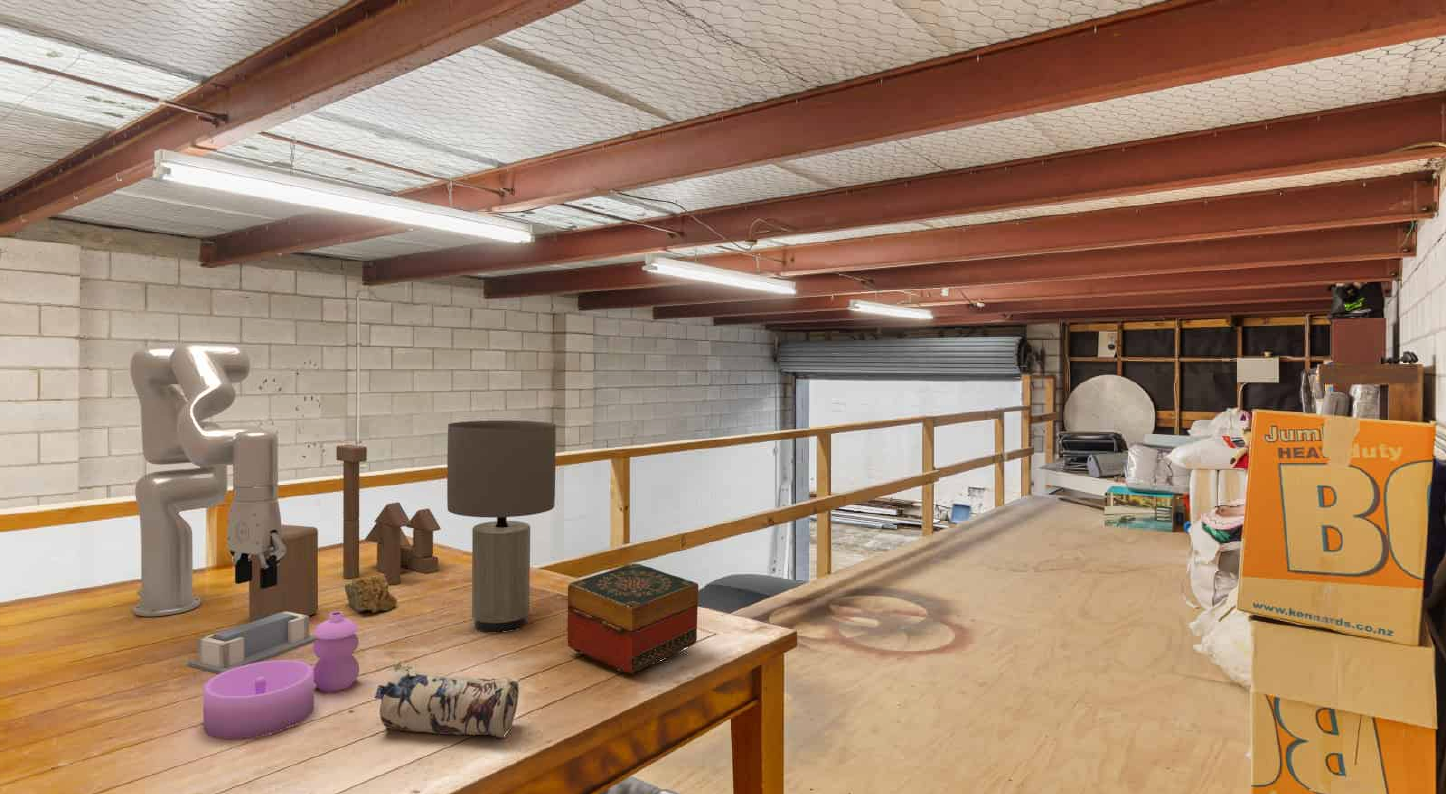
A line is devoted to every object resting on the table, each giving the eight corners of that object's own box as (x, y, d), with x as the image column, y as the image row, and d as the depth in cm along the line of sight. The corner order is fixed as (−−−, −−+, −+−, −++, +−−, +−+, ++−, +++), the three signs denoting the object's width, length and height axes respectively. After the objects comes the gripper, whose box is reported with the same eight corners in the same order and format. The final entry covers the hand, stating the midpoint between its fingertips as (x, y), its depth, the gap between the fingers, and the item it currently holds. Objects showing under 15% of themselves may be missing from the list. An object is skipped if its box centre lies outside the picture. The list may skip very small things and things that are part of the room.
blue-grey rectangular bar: (226, 663, 144) (225, 636, 144) (213, 659, 146) (213, 633, 145) (293, 639, 157) (293, 615, 157) (281, 636, 158) (281, 612, 158)
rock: (353, 628, 180) (337, 588, 181) (389, 612, 186) (374, 574, 188) (368, 618, 172) (351, 577, 173) (405, 602, 178) (389, 562, 179)
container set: (241, 748, 115) (241, 661, 114) (182, 725, 121) (182, 642, 121) (383, 687, 137) (383, 614, 136) (326, 670, 144) (326, 600, 143)
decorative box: (641, 634, 169) (635, 559, 169) (710, 653, 153) (704, 570, 153) (561, 662, 155) (555, 581, 154) (629, 687, 139) (621, 596, 139)
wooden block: (286, 627, 165) (286, 535, 165) (247, 623, 167) (246, 532, 167) (319, 613, 175) (319, 526, 174) (281, 609, 177) (281, 523, 176)
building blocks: (388, 591, 193) (388, 452, 191) (330, 575, 206) (330, 444, 204) (451, 574, 209) (452, 446, 208) (394, 560, 222) (394, 439, 221)
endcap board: (187, 665, 144) (187, 639, 144) (284, 632, 163) (284, 608, 162) (223, 674, 140) (223, 647, 140) (318, 639, 159) (318, 615, 159)
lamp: (438, 645, 157) (440, 428, 155) (453, 610, 179) (455, 420, 177) (552, 639, 162) (555, 429, 160) (553, 606, 184) (556, 420, 182)
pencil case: (371, 737, 119) (371, 675, 118) (401, 713, 127) (401, 655, 127) (506, 749, 116) (507, 686, 116) (528, 723, 124) (528, 664, 124)
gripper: (207, 492, 150) (207, 583, 151) (268, 500, 143) (268, 595, 144) (244, 487, 157) (244, 574, 158) (304, 494, 150) (304, 585, 151)
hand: (256, 583), depth 151 cm, fingers open, 6 cm apart
